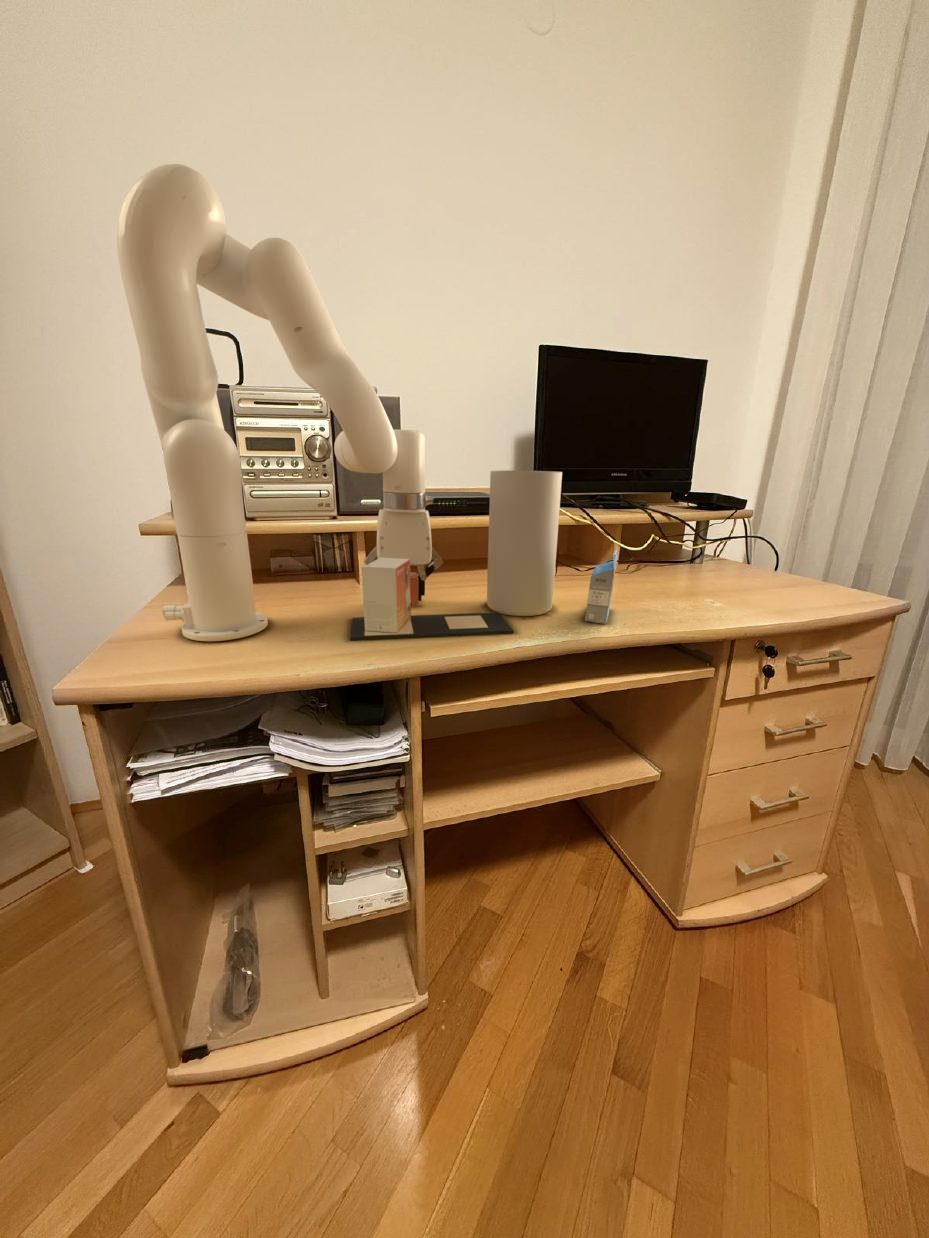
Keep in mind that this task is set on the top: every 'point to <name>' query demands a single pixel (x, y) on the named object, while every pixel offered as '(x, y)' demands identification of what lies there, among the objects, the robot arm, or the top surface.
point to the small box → (386, 594)
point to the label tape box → (601, 591)
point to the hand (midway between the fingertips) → (404, 598)
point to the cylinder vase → (522, 541)
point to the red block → (414, 587)
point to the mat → (437, 626)
